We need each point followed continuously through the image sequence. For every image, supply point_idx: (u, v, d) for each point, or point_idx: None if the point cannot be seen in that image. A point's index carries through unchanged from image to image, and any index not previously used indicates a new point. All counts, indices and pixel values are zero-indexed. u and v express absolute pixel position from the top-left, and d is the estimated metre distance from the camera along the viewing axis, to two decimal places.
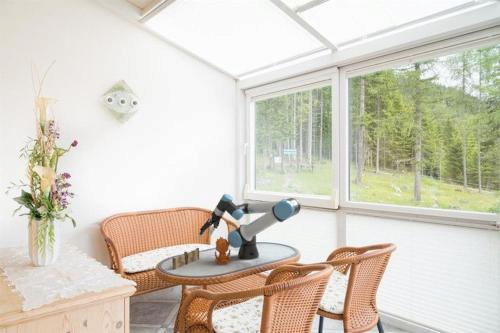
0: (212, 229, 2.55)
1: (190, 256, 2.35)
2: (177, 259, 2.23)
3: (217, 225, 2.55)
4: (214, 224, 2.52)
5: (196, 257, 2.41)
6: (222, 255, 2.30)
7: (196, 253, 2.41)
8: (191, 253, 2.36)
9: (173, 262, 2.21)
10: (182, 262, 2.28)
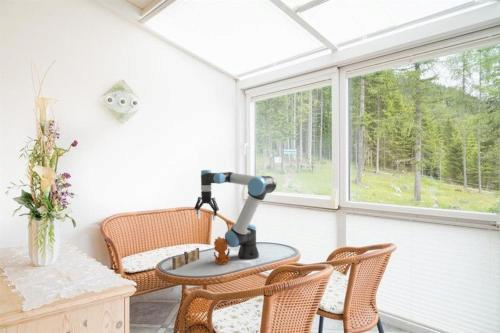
0: None
1: (190, 256, 2.35)
2: (177, 259, 2.23)
3: (215, 208, 2.49)
4: None
5: (196, 257, 2.41)
6: (221, 255, 2.30)
7: (196, 253, 2.41)
8: (191, 253, 2.36)
9: (173, 262, 2.21)
10: (182, 262, 2.28)
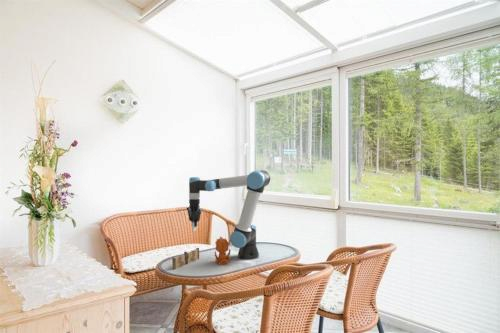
0: None
1: (190, 256, 2.35)
2: (177, 259, 2.23)
3: None
4: None
5: (196, 257, 2.41)
6: (222, 255, 2.30)
7: (196, 253, 2.41)
8: (191, 253, 2.36)
9: (173, 262, 2.21)
10: (182, 262, 2.28)
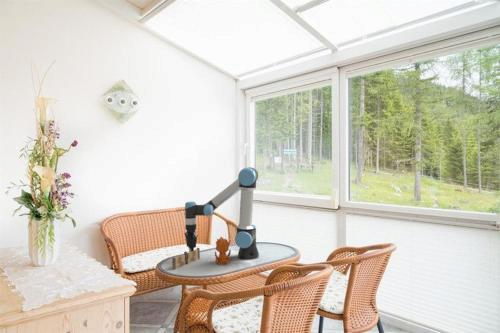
0: None
1: (190, 257, 2.35)
2: (177, 259, 2.23)
3: (192, 245, 2.39)
4: None
5: (196, 257, 2.41)
6: (222, 255, 2.30)
7: (196, 253, 2.41)
8: (191, 253, 2.36)
9: (173, 262, 2.21)
10: (182, 262, 2.28)
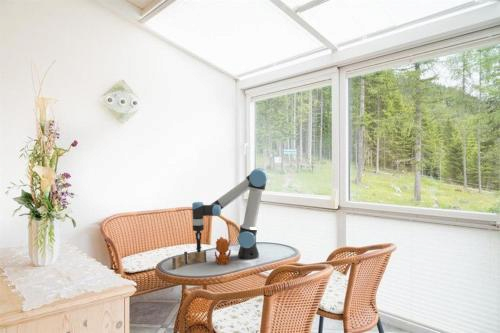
0: None
1: (192, 258, 2.33)
2: (177, 259, 2.23)
3: (197, 246, 2.34)
4: None
5: (202, 260, 2.35)
6: (222, 255, 2.30)
7: (202, 255, 2.35)
8: (193, 254, 2.33)
9: (173, 262, 2.21)
10: (182, 262, 2.28)
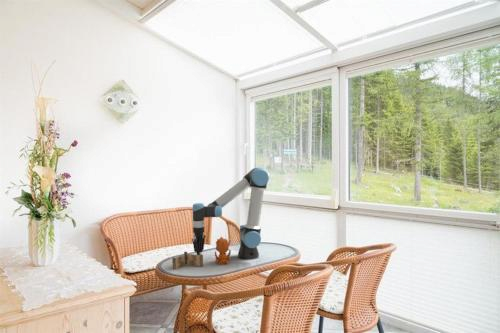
0: None
1: (190, 259, 2.29)
2: (177, 259, 2.23)
3: None
4: None
5: (198, 263, 2.26)
6: (222, 255, 2.30)
7: (198, 259, 2.26)
8: (191, 256, 2.29)
9: (173, 262, 2.21)
10: (182, 262, 2.28)
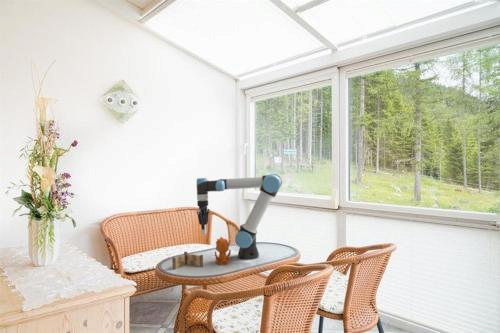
0: None
1: (190, 259, 2.29)
2: (177, 259, 2.23)
3: None
4: None
5: (198, 263, 2.26)
6: (222, 255, 2.30)
7: (198, 259, 2.26)
8: (191, 256, 2.29)
9: (173, 262, 2.21)
10: (182, 262, 2.28)
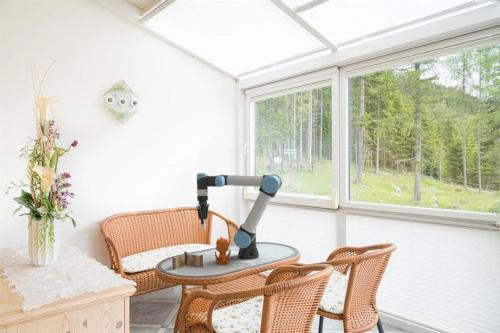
0: None
1: (190, 259, 2.29)
2: (177, 259, 2.23)
3: None
4: None
5: (198, 263, 2.26)
6: (222, 255, 2.30)
7: (198, 259, 2.26)
8: (191, 256, 2.29)
9: (173, 262, 2.21)
10: (182, 262, 2.28)
